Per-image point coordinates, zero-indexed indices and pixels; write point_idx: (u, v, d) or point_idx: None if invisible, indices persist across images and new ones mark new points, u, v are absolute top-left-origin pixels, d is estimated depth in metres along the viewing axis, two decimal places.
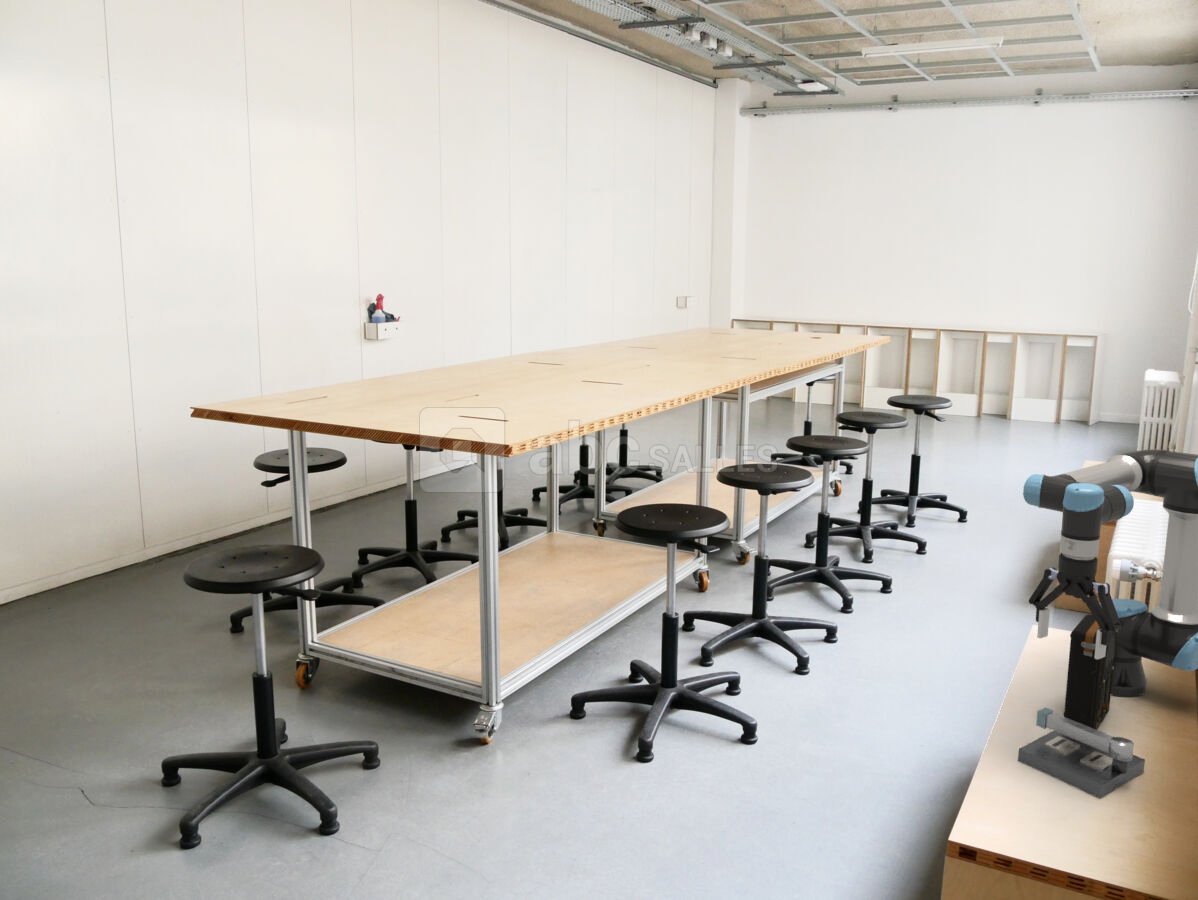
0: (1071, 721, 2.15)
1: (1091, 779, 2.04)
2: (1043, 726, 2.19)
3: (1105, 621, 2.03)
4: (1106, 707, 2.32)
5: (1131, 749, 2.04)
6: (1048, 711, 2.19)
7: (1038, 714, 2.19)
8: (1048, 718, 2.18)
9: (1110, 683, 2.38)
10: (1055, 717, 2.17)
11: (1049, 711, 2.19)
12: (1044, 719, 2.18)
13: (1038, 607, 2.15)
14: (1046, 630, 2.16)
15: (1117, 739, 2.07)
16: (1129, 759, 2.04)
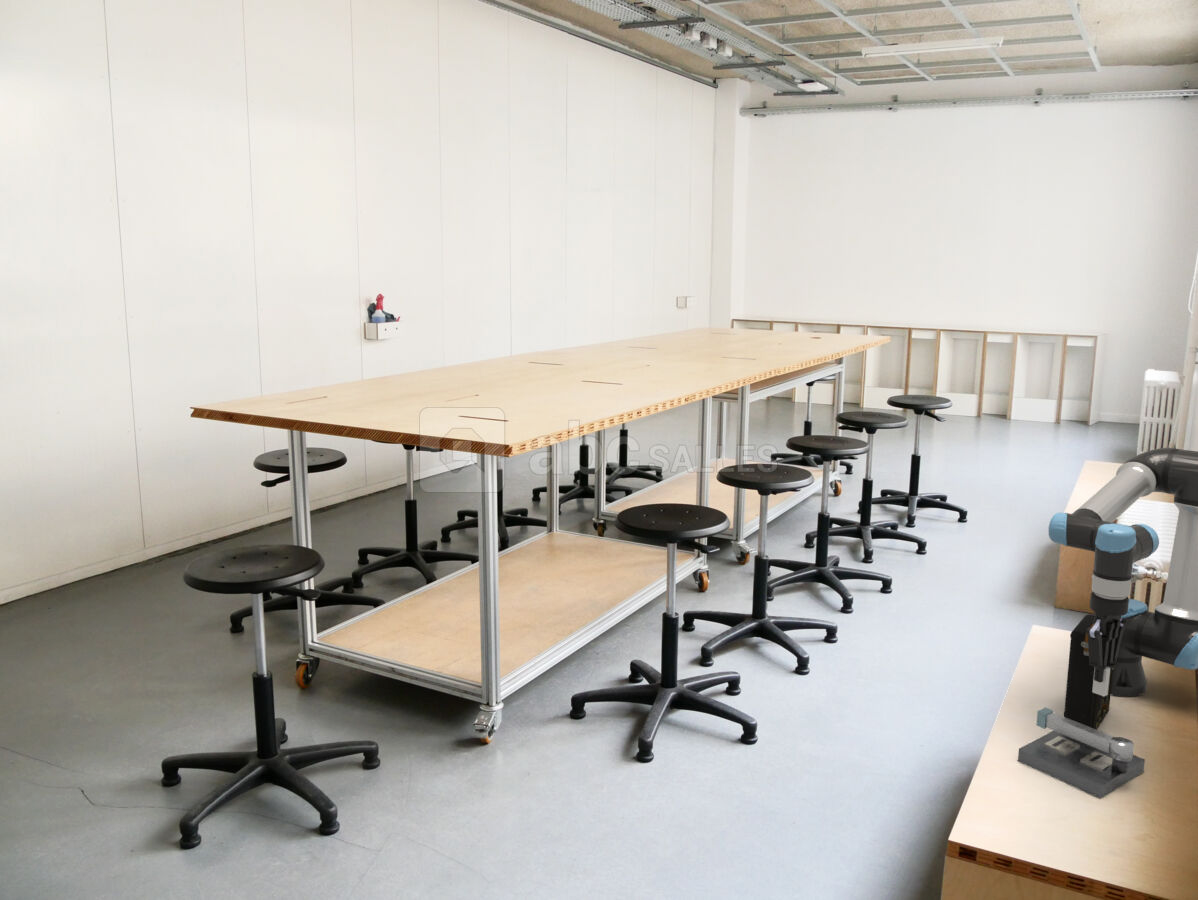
0: (1071, 721, 2.15)
1: (1091, 779, 2.04)
2: (1043, 726, 2.19)
3: None
4: (1106, 707, 2.32)
5: (1131, 749, 2.04)
6: (1048, 711, 2.19)
7: (1038, 714, 2.19)
8: (1048, 718, 2.18)
9: (1110, 683, 2.38)
10: (1055, 717, 2.17)
11: (1049, 711, 2.19)
12: (1044, 719, 2.18)
13: None
14: None
15: (1117, 739, 2.07)
16: (1129, 759, 2.04)
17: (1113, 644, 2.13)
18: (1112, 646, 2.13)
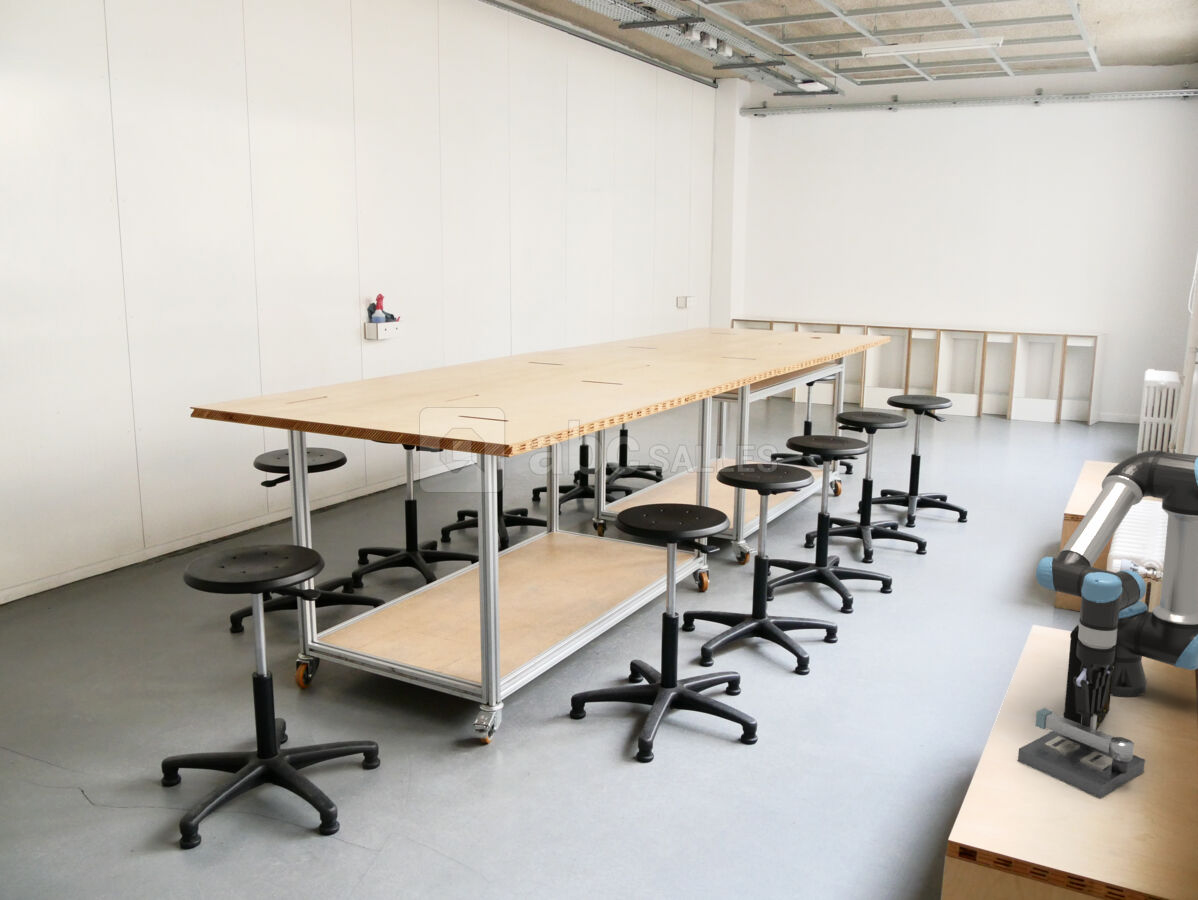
0: (1071, 721, 2.15)
1: (1091, 779, 2.04)
2: (1042, 727, 2.19)
3: None
4: (1106, 707, 2.32)
5: (1131, 749, 2.04)
6: (1047, 712, 2.19)
7: (1037, 715, 2.19)
8: (1047, 719, 2.18)
9: (1110, 683, 2.38)
10: (1055, 718, 2.17)
11: (1048, 711, 2.19)
12: (1043, 720, 2.18)
13: None
14: None
15: (1117, 739, 2.07)
16: (1129, 759, 2.04)
17: (1100, 692, 2.13)
18: (1099, 694, 2.13)
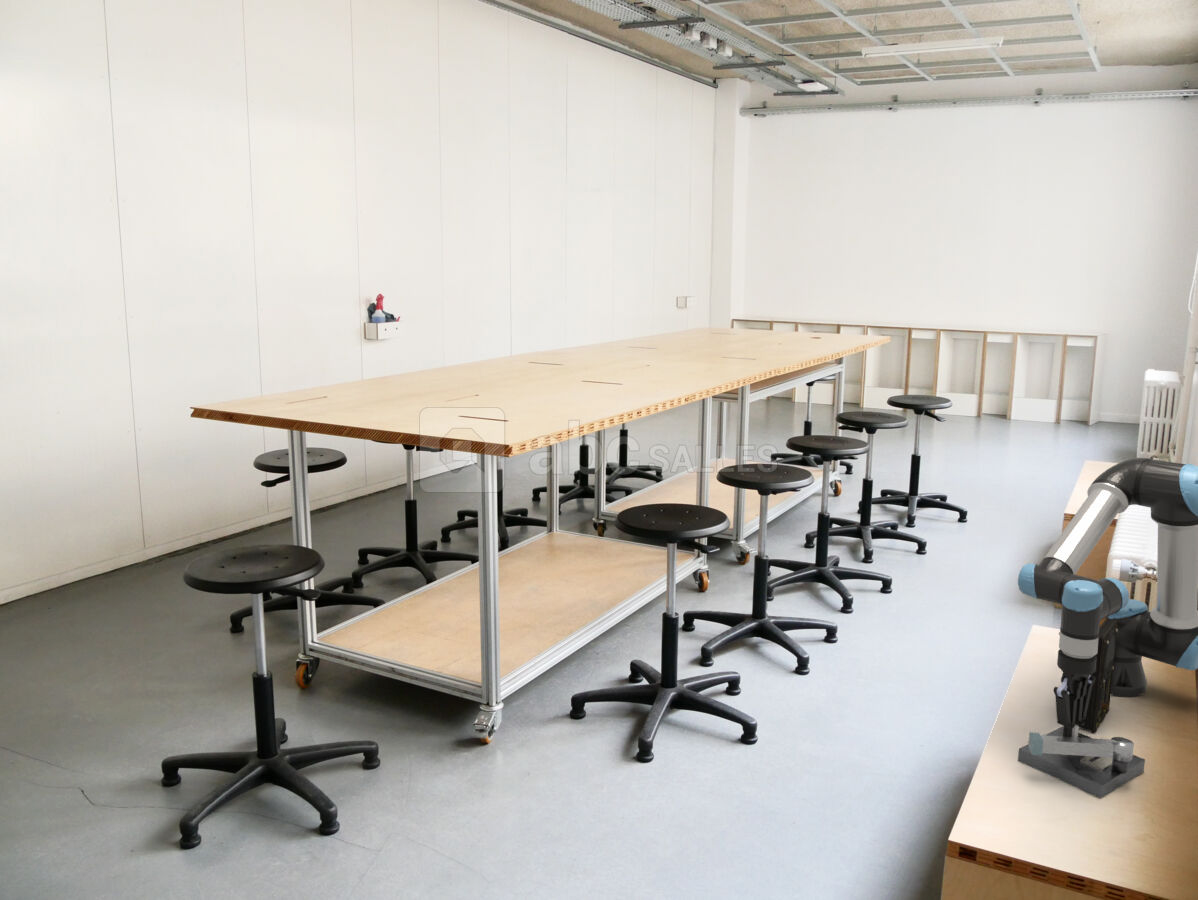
0: (1064, 738, 2.08)
1: (1091, 779, 2.04)
2: (1040, 753, 2.07)
3: None
4: (1106, 707, 2.32)
5: None
6: (1038, 735, 2.08)
7: (1034, 742, 2.07)
8: (1044, 743, 2.07)
9: (1110, 683, 2.38)
10: (1051, 740, 2.07)
11: (1039, 735, 2.09)
12: (1041, 745, 2.07)
13: None
14: None
15: (1116, 741, 2.06)
16: (1132, 756, 2.05)
17: (1081, 702, 2.09)
18: (1080, 704, 2.08)
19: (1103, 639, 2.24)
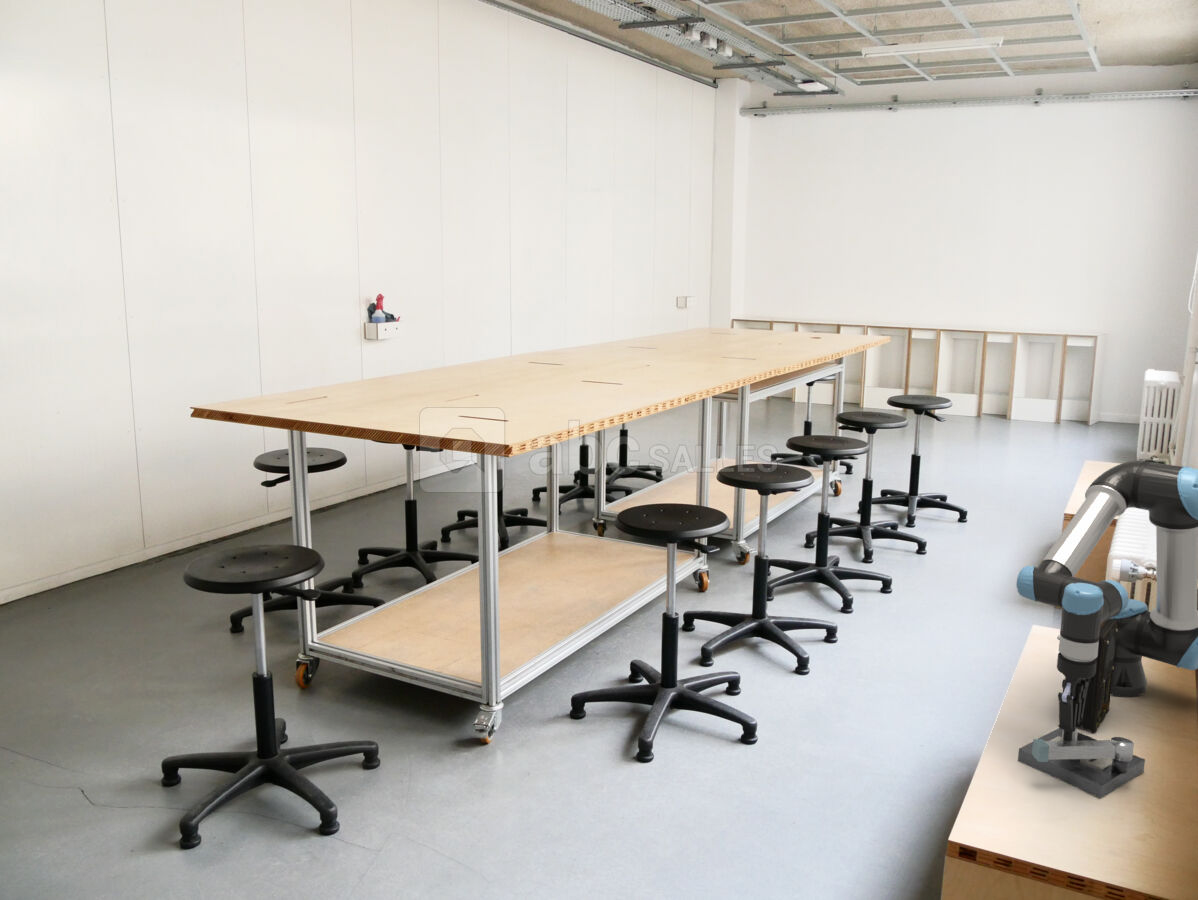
0: (1067, 742, 2.06)
1: (1091, 779, 2.04)
2: (1046, 759, 2.05)
3: None
4: (1106, 707, 2.32)
5: None
6: (1043, 742, 2.06)
7: (1041, 749, 2.04)
8: (1050, 749, 2.05)
9: (1110, 683, 2.38)
10: (1056, 745, 2.05)
11: (1043, 741, 2.06)
12: (1047, 752, 2.04)
13: None
14: None
15: (1116, 741, 2.06)
16: None
17: (1080, 705, 2.07)
18: (1079, 707, 2.07)
19: (1103, 639, 2.24)
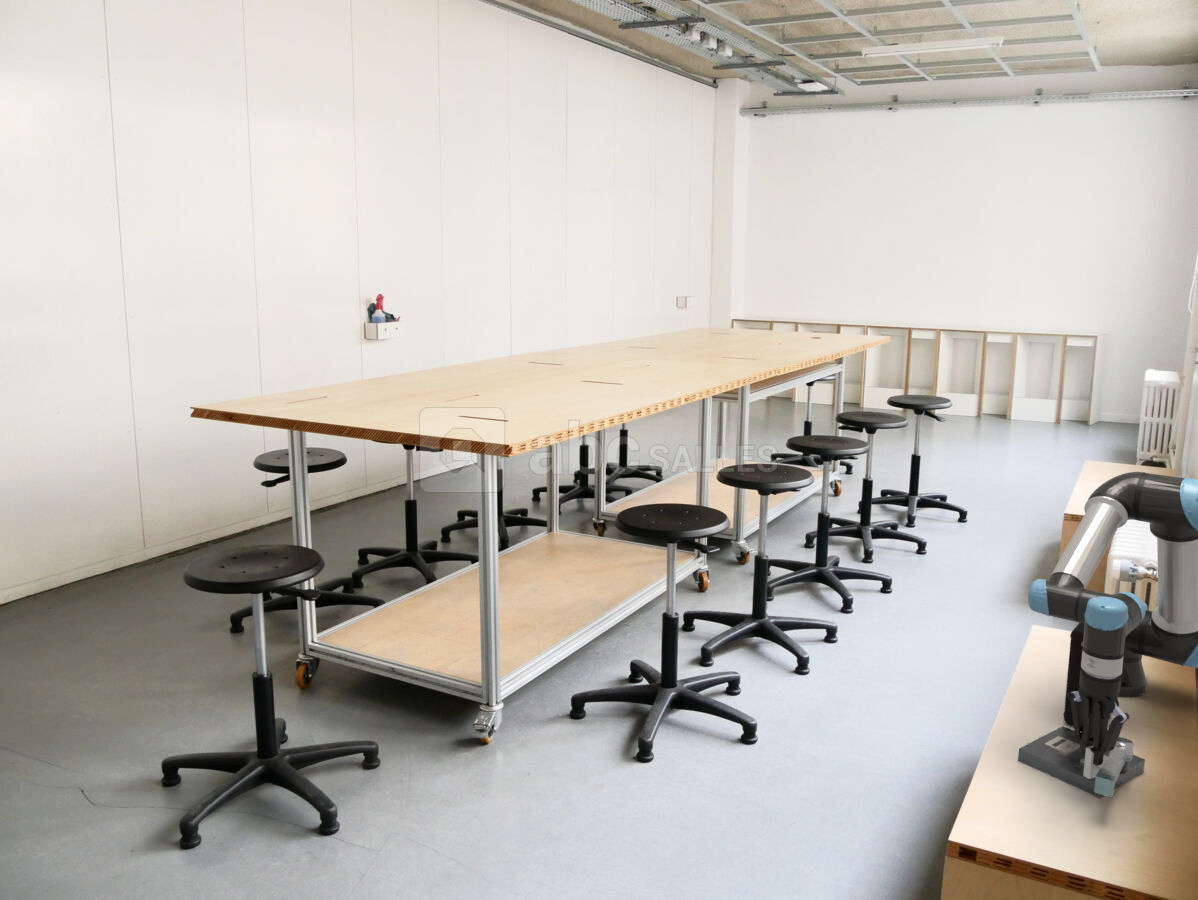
0: (1108, 764, 1.97)
1: (1091, 779, 2.04)
2: (1113, 791, 1.92)
3: (1101, 743, 1.98)
4: None
5: None
6: (1104, 774, 1.93)
7: (1113, 783, 1.91)
8: None
9: None
10: (1112, 772, 1.94)
11: (1103, 774, 1.93)
12: (1114, 783, 1.92)
13: (1085, 743, 2.01)
14: None
15: (1119, 743, 2.05)
16: None
17: None
18: None
19: None
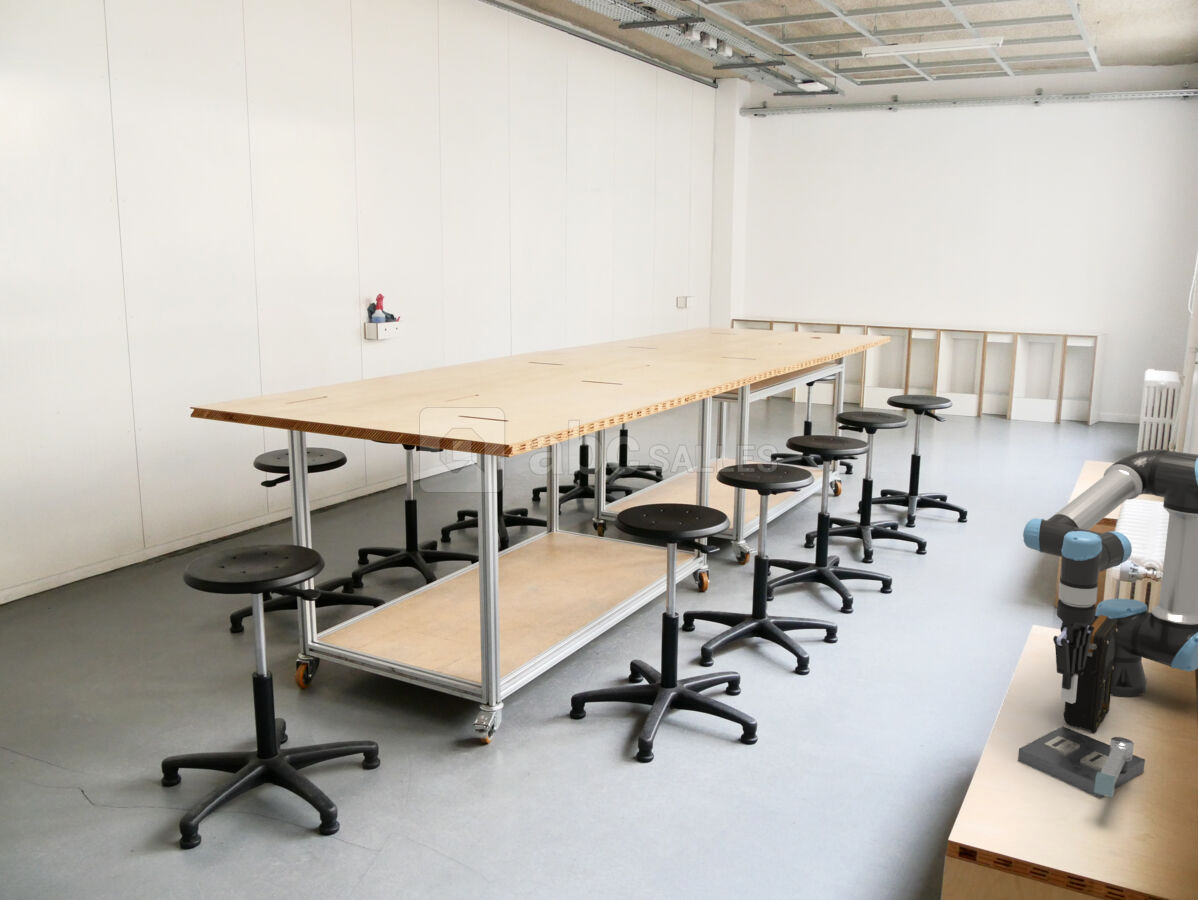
0: (1108, 764, 1.97)
1: (1091, 779, 2.04)
2: (1113, 791, 1.92)
3: None
4: (1106, 707, 2.32)
5: None
6: (1104, 774, 1.93)
7: (1113, 783, 1.91)
8: None
9: (1110, 683, 2.38)
10: (1112, 772, 1.94)
11: (1103, 774, 1.93)
12: (1114, 783, 1.92)
13: None
14: None
15: (1119, 743, 2.05)
16: None
17: (1080, 651, 2.12)
18: (1079, 653, 2.12)
19: (1103, 639, 2.24)
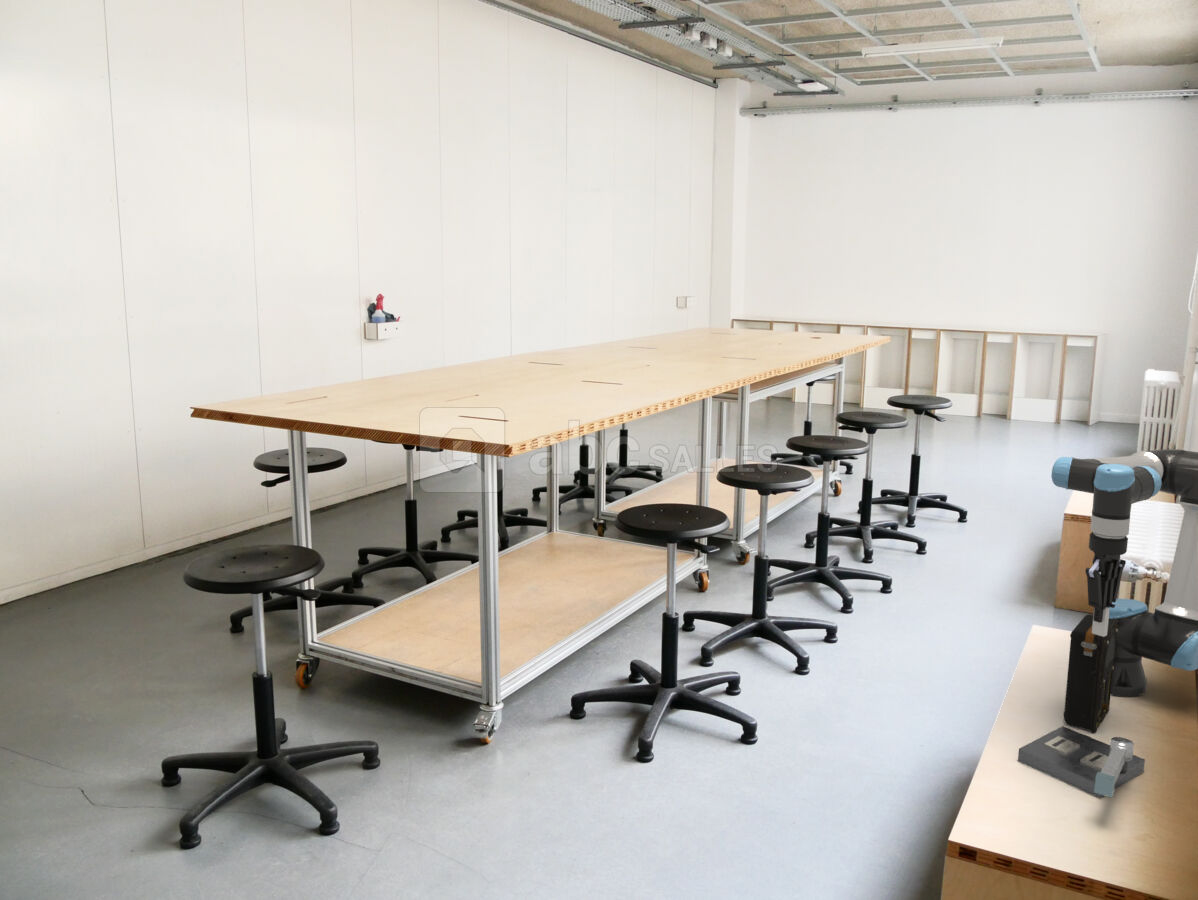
0: (1108, 764, 1.97)
1: (1091, 779, 2.04)
2: (1113, 791, 1.92)
3: None
4: (1106, 707, 2.32)
5: None
6: (1104, 774, 1.93)
7: (1113, 783, 1.91)
8: None
9: (1110, 683, 2.38)
10: (1112, 772, 1.94)
11: (1103, 774, 1.93)
12: (1114, 783, 1.92)
13: None
14: None
15: (1119, 743, 2.05)
16: None
17: (1112, 584, 2.13)
18: (1111, 586, 2.13)
19: (1103, 639, 2.24)
